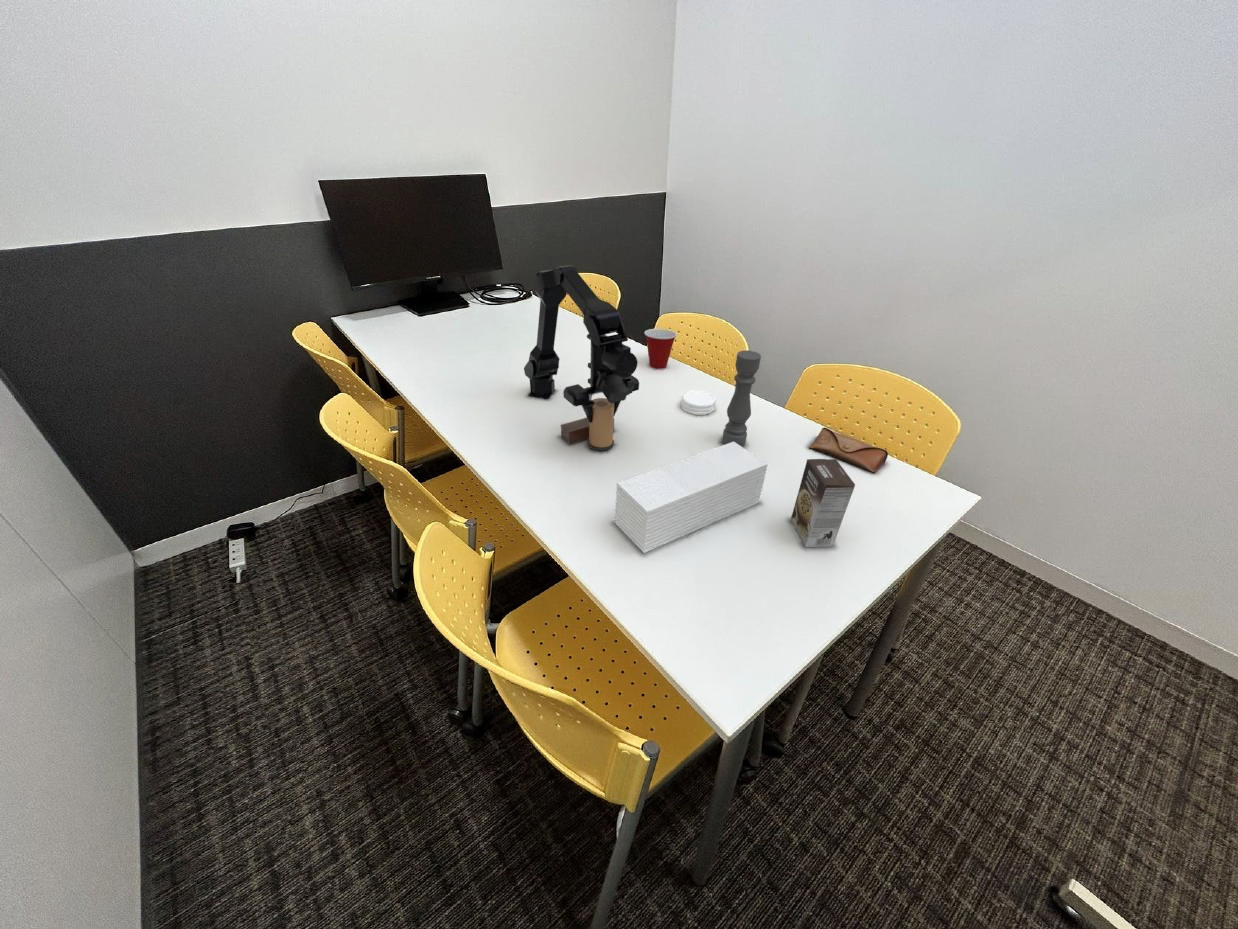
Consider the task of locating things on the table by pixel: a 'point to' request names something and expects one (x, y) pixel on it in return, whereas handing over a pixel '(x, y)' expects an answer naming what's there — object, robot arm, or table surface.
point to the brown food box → (821, 502)
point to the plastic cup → (659, 346)
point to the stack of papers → (688, 495)
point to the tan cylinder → (601, 425)
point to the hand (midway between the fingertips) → (601, 418)
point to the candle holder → (741, 398)
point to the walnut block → (576, 430)
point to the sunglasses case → (850, 450)
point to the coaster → (698, 402)
